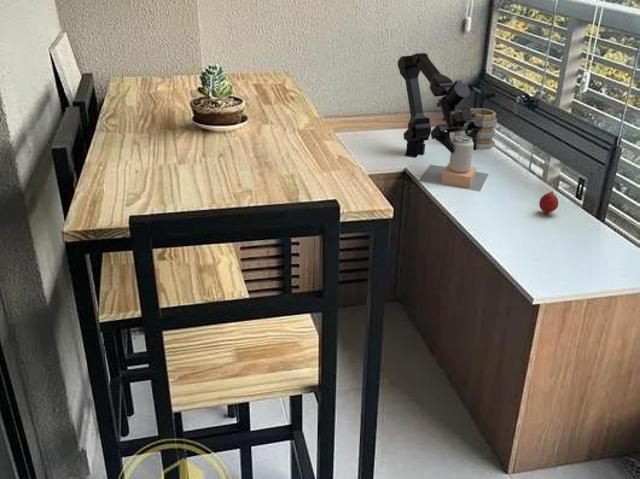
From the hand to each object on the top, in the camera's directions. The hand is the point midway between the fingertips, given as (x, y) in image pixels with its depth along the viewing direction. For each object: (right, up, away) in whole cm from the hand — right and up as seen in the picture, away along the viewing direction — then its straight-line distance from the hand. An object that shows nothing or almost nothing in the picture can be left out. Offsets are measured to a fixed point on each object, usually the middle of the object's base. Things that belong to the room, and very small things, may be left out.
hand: (464, 151), depth 225 cm
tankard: (+12, +9, +45) cm, 47 cm away
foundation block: (-1, -10, +6) cm, 12 cm away
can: (-1, -6, +5) cm, 8 cm away
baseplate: (-2, -9, +10) cm, 13 cm away
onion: (+24, -23, -14) cm, 36 cm away
